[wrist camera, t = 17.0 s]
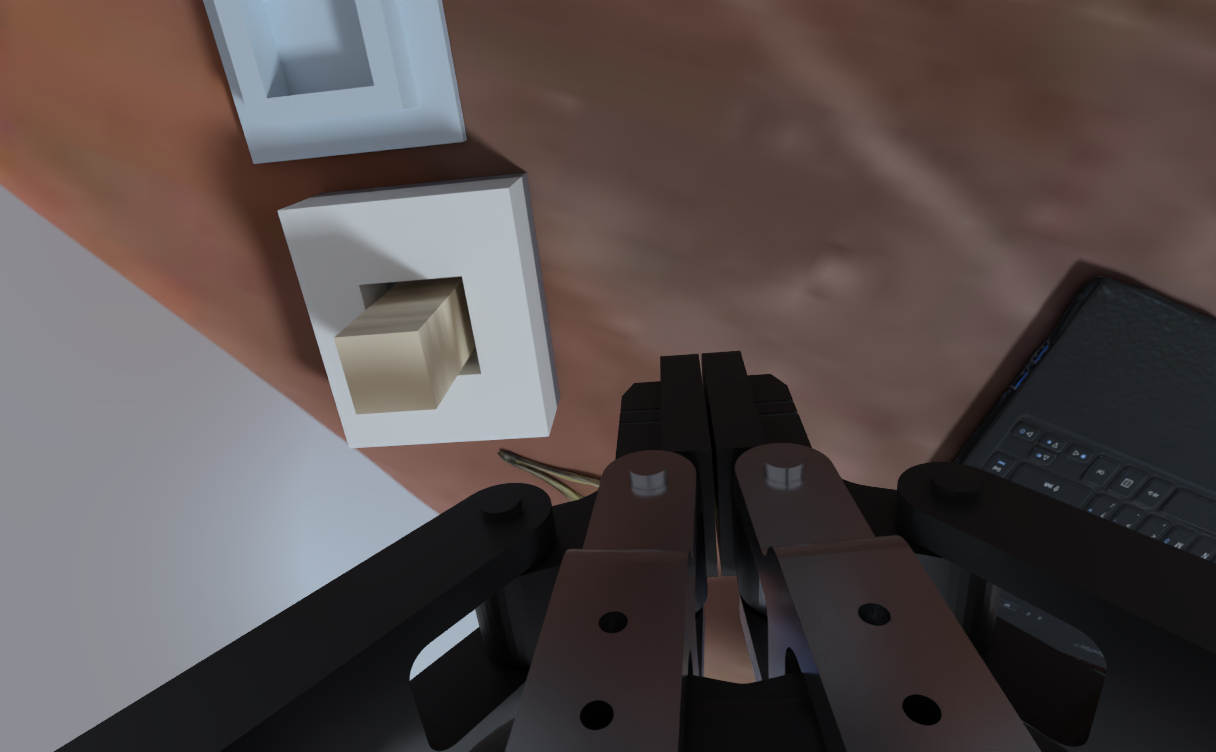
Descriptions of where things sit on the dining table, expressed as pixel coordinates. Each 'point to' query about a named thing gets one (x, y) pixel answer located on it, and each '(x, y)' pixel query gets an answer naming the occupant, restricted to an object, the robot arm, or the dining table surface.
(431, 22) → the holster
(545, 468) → the tan bony v-shaped piece
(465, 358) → the beech peg
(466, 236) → the box
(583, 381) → the dining table surface
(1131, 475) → the laptop
